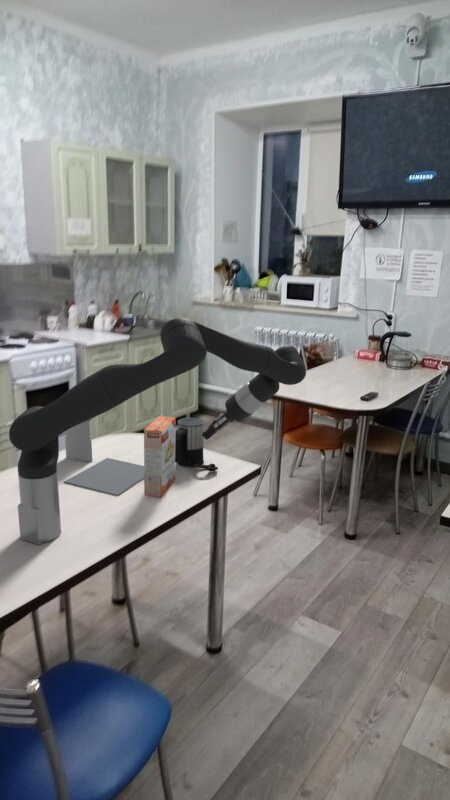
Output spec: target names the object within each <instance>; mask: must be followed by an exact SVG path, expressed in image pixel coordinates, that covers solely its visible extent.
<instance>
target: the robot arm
mask: <svg viewBox="0 0 450 800" xmlns="http://www.w3.org/2000/svg"><path fill="white" fill-rule="evenodd" d="M159 336H160V342H161V345H162V348H163V352H161V354H159V355H157V356H155V357H153V358H151V359H149V360H147V361H145V362H142V363H117V364H111V365H110V364H109V365H106V366H105V367H103V368H101V369H99V370H97V371H95V372H94V373H92V374H90V375H89V376H87V377H85V378H84V379H83V380H82V379H81V380H80V382H78V383H76V384H75V385H74V386H72V387H71V388H70V389H69V390H67V391H65V392H64V393H63V394H62V395H61V396H59V398H57V399H55V400H54V401H52V402H51V403H48V404H46V405H45V406H41V405H39V406H38V405H37V406H32V407H28V408H27V409H26V410H25V411H23V412H21V414H20V415H18V416H17V417H15V419H14V420H13V422H12V423H11V424H10V427H9V432H8V438H9V441H10V443H11V445H13V446H14V447H15V448H16V449H18V450H20V451H21V452H20V456H19V459H18V463H17V475H18V488H19V489H18V491H19V501H20V503H19V504H18V505H17V512H18V513H17V514H18V516H17V517H18V524H19V536H20V537H19V538H20V540H22V541H25V542H29V543H32V544H36V545H41V544H43V543H46V542H51V541H53V540H55V539H57V538H58V537H60V535H61V534H62V525H61V524H62V523H61V511H60V510H61V509H60V494H59V492H60V491H59V478H58V461H59V455H60V444H59V436H60V435H63V434H64V433H66V432H65V431H67V430H68V429H70V428H72V427H74V426H76V425H78V424H81V423H83V422H85V421H88V420H90V419H91V420H92V419H94V418H96V417H98V416H99V415H102V414H104V413H106V412H109V411H111V410H112V409H114V408H116V407H118V406H120V405H121V404H123V403H125V402H126V401H128V400H129V399H131V398H133V397H135V396H137V395H139V394H142V392H145V391H147V390H148V389H151V388H152V387H154V386H156V385H159V384H161V383H163V382H166V381H168V380H170V379H173V378H176V377H178V376H180V375H182V374H183V375H184V374H185V373H187V372H189V371H191V370H193V369H195V368H196V367H198V366H199V365H200V364H202V363H203V361H205V359H206V356H207V352H208V353H210V354H212V355H214V356H216V357H218V358H220V359H221V360H223V361H225V362H226V363H227V364H230V365H231V366H233V367H235V368H237V369H240V370H243V371H247V372H253V373H257V374H256V375H255V376H253V378H251V380H249V381H248V382H247V383H245V384H244V385H242V386H241V387H240V388H239V389H238V390H237V391H235V392H234V393H233V394H232V395H231V396H230V397H229V398H228V399H226V401H225V404H224V407H225V410H223V411H221V413H219V415H218V416H217V417H216V418H215V419H214V420H212V422H211V423H210V425H208V427H207V429H206V430H205V431H204V433H203V434H202V435H203V437H204V438H203V439H205V440H209V439H210V438H212V437H213V436H214V435H215V434H217V433H218V432H220V431H222V430H224V429H225V428H227V427H229V426H230V425H231V424H233V423H234V422H239V423H243V422H245V421H246V420H247V419H249V418H250V417H251V416H252V415H254V414H255V413H256V412H257V411H258V410H259V409H260V408H262V407H263V406H264V404H266V402H268V401H269V400H270V399H271V398H272V397H273V396H275V395H276V394H277V393H278V392H279V390H280V384H283V385H287V386H293V385H298V384H300V383H302V382H303V381H304V379H305V378H306V375H307V369H306V366H305V364H304V362H303V359H302V357H301V355H300V352H299V351H298V349H297V348H296V346H293V345H291V344H290V345H289V344H285V345H282V346H280V347H278V348H277V349H276V350H275V349H273V348H272V347H270V346H268V345H265V344H260V343H256V342H250V341H246V340H243V339H239V338H236V337H233V336H231V335H228V334H226V333H223V332H220V331H219V330H215V329H213V328H211V327H208V326H206V325H204V324H201V323H200V322H197V321H195V320H192V319H189V318H185V317H177V318H172V319H169V320H168V321H166V322H165V324H163V326H162V327H161V329H160V333H159ZM91 420H90V421H91Z"/></svg>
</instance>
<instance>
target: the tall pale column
mask: <svg viewBox="0 0 450 800" xmlns="http://www.w3.org/2000/svg"><path fill="white" fill-rule="evenodd" d="M91 421H92V419H90V420H88V421H85V422H83V423H81V424H78V425H76V426H74V427H72V428H70V429H68V430H67V431H65V432H64V433H65V437H64V443H65V444H64V445H65V459H66V460H69V459H70V460H69V461H73V462H77V463H78V462H79V463H80V462H84V463H85V462H86V463H91V462H93V448H92V447H93V445H92V444H93V443H92V438H91Z"/></svg>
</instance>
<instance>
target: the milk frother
mask: <svg viewBox="0 0 450 800" xmlns="http://www.w3.org/2000/svg"><path fill="white" fill-rule="evenodd" d="M177 423H178V427H177V429H176V435H175V464H178V465H179V466H181V467H185V468H197V469H198V468H199V469H204V470H207V471H209V472H211V471H212V472H215V471H217V470H219V467H218V466H216V464H215V463H209V464H205V460H204V439H205V438H204V437H203V435H202V434H203V433H204V432H205V431H204V429H205V428H204V427H205V424H206V423H205V420H204V419H202V418H198V417H183V418H179V419H178V420H177Z"/></svg>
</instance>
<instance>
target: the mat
mask: <svg viewBox="0 0 450 800" xmlns="http://www.w3.org/2000/svg"><path fill="white" fill-rule="evenodd" d="M142 481H144V465H142V464H137V463H132V462H127V461H124V460H120V459H115V458H109V457H105V458H104V459H103V460H100V461H99V462H97V463H96V464H93V465H91V466H89V467H88V468H87V469H84V470H82V471H81V472H78V473H77V474H75V475H73V476H72V477H70V478H68V479H66V480H64V481H63V483H64V484H67V485H72V486H77V487H80V488H84V489H88V490H91V491H96V492H99V493H103V494H107V495H112V496H115V497H118V496H121V495H122V494H123V493H125V492H127V491H128V490H129V489H131V488H133V487H134V486H135V485H137V484H138V483H140V482H142Z"/></svg>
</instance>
